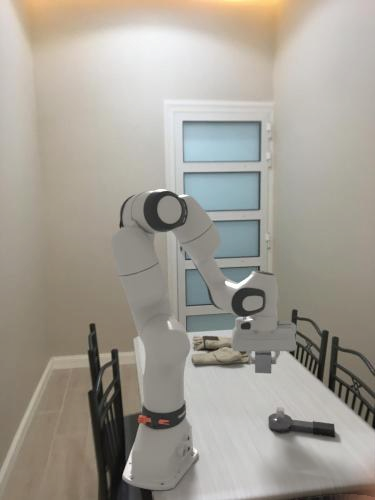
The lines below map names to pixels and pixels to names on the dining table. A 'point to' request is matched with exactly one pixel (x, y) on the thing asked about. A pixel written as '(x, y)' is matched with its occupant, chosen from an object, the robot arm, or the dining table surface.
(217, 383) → the dining table surface
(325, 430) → the ratchet
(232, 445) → the dining table surface
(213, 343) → the pair of gloves
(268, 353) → the plain grey cube block
